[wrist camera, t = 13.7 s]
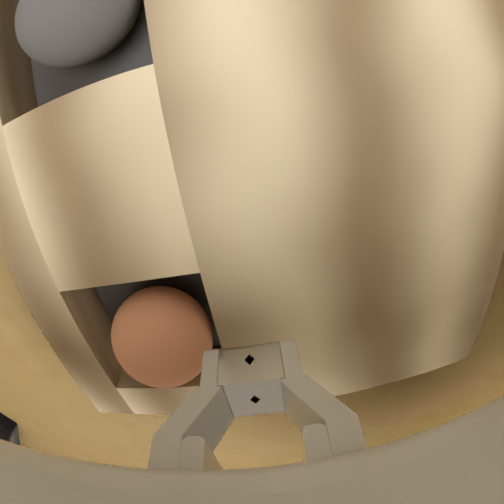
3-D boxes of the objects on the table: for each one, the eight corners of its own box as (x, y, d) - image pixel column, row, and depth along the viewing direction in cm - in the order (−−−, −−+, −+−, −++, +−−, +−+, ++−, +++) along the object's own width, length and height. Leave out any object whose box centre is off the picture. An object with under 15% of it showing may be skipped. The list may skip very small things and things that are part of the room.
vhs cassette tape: (-3, 409, 20) (-34, 486, 11) (21, 424, 21) (-7, 503, 12) (6, 453, 27) (-12, 504, 18) (23, 463, 27) (7, 515, 19)
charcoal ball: (75, -7, 7) (160, -53, 6) (85, 78, 9) (174, 43, 8) (-8, -10, 4) (77, -86, 3) (-3, 96, 6) (81, 37, 5)
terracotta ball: (139, 261, 13) (220, 272, 11) (165, 331, 15) (237, 349, 13) (74, 317, 10) (155, 347, 8) (116, 388, 12) (192, 421, 10)
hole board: (425, -108, 4) (450, -126, 2) (449, 328, 15) (468, 357, 13) (-5, -40, 5) (-36, -49, 3) (110, 378, 16) (99, 412, 14)
